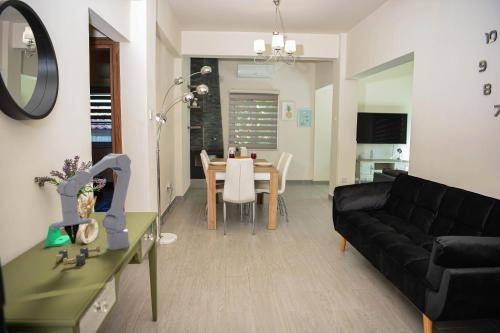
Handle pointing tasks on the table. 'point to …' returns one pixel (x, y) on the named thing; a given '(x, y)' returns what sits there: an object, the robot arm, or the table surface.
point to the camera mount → (56, 238)
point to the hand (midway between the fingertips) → (73, 242)
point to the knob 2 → (75, 260)
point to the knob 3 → (89, 250)
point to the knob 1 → (62, 255)
